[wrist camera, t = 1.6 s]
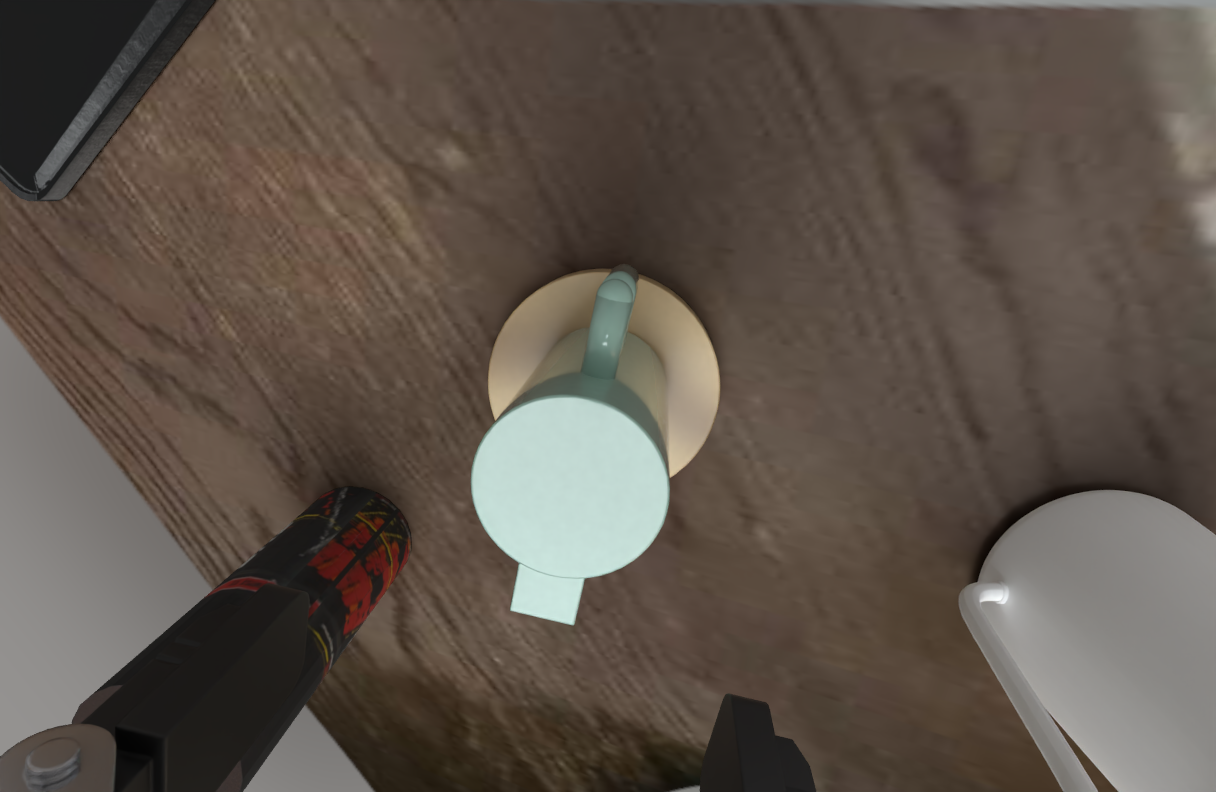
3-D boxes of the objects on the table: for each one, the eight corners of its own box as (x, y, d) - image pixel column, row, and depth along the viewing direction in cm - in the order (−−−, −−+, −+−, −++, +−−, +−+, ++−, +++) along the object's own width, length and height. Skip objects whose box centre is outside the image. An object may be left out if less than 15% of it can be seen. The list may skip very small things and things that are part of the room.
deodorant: (389, 600, 37) (214, 852, 23) (292, 554, 37) (53, 780, 22) (427, 517, 35) (265, 734, 21) (326, 468, 35) (91, 654, 21)
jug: (643, 497, 32) (632, 642, 22) (520, 468, 32) (449, 598, 22) (700, 272, 29) (720, 315, 18) (562, 241, 29) (503, 266, 18)
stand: (686, 505, 34) (688, 519, 32) (480, 457, 34) (470, 469, 33) (744, 297, 31) (748, 302, 29) (514, 245, 31) (507, 247, 29)
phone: (221, -39, 27) (32, 211, 31) (238, -30, 28) (53, 211, 32) (70, -206, 26) (-109, 76, 30) (93, -190, 27) (-82, 81, 31)
